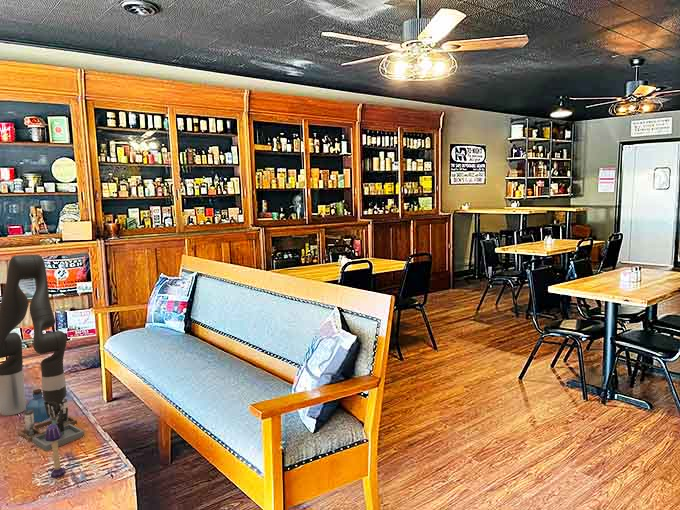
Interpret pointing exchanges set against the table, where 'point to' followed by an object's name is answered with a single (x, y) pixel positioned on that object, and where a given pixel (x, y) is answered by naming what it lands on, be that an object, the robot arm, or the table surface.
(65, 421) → the canister
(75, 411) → the table surface
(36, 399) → the perfume bottle
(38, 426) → the rack
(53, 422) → the cylinder
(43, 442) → the dish
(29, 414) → the glass vial
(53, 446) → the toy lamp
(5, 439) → the table surface
